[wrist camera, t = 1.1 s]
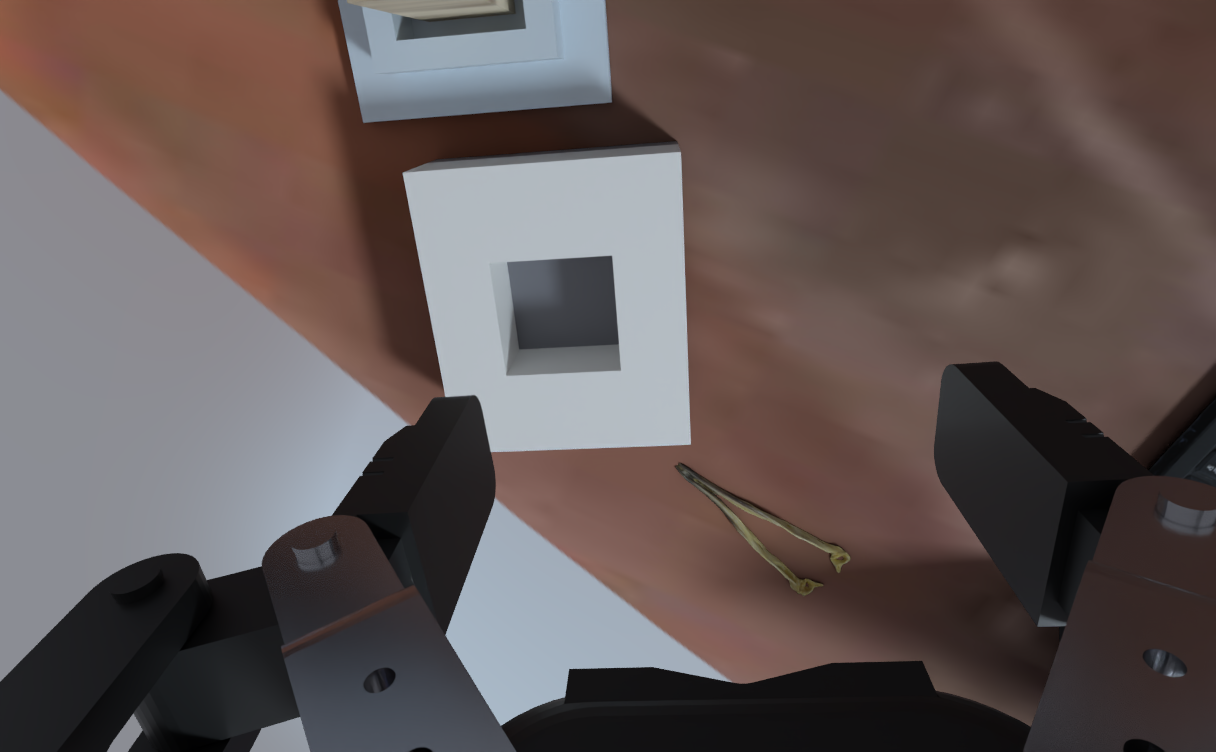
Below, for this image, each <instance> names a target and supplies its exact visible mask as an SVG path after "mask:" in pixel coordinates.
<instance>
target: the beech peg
mask: <svg viewBox="0 0 1216 752" xmlns="http://www.w3.org/2000/svg"><path fill="white" fill-rule="evenodd" d="M347 3H349V4H354V5H358V6H362V7H367V8H371V9H375V10H379V11H384V12H388V13H392V14H397V15H401V16H405V17H410V18H414V19H418V20H423V21H427V22H434V21H445V20H455V19H466V18H476V17H487V16H498V15H508V14H516V11H515V3H514V0H347Z"/></svg>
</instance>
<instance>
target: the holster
mask: <svg viewBox="0 0 1216 752" xmlns="http://www.w3.org/2000/svg"><path fill="white" fill-rule="evenodd" d="M514 3H515V11H516V14H508V15H498V16H487V17H476V18H466V19H455V20H445V21H434V22H427V21H423V20H418V19H414V18H410V17H405V16H401V15H397V14H392V13H388V12H384V11H379V10H375V9H371V8H367V7H362V6H358V5H354V4H349V3H347V0H338V4H339V8H340V13H341V18H342V23H343V28H344V32H345V37H346V42H347V47H348V52H349V56H350V61H351V66H352V71H353V76H354V80H355V85H356V90H357V95H358V100H359V104H360V109H361V114H362V119H363V123H366V122H379V121H391V120H403V119H415V118H428V117H440V116H452V115H464V114H476V113H489V112H501V111H513V110H525V109H538V108H550V107H562V106H574V105H587V104H599V103H611V102H612V88H611V74H610V59H609V45H608V31H607V16H606V2H605V0H514Z"/></svg>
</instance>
